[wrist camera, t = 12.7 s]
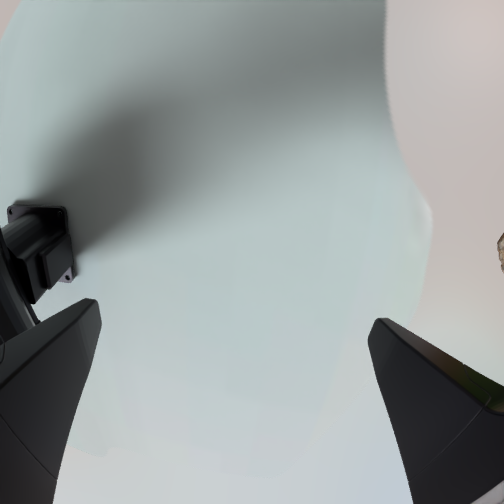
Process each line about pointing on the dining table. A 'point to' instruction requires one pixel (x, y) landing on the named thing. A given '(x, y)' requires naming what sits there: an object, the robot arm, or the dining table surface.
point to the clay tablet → (501, 251)
